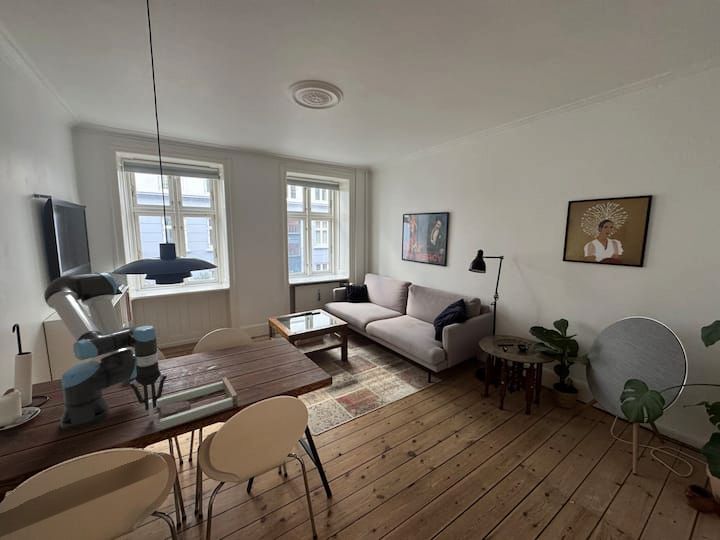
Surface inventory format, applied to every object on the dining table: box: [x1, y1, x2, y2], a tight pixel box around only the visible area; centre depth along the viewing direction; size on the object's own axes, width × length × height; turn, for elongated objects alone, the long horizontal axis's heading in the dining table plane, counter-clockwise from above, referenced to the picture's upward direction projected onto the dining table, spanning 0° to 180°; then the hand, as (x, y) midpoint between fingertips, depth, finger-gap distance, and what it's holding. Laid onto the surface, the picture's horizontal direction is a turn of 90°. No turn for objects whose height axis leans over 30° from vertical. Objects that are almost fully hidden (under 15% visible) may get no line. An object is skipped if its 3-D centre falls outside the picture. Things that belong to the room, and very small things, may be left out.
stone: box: [158, 400, 192, 420], centre depth 128 cm, size 12×9×5 cm
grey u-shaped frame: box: [156, 376, 238, 430], centre depth 135 cm, size 30×20×5 cm, turn 128°
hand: (151, 415), depth 124 cm, fingers closed
